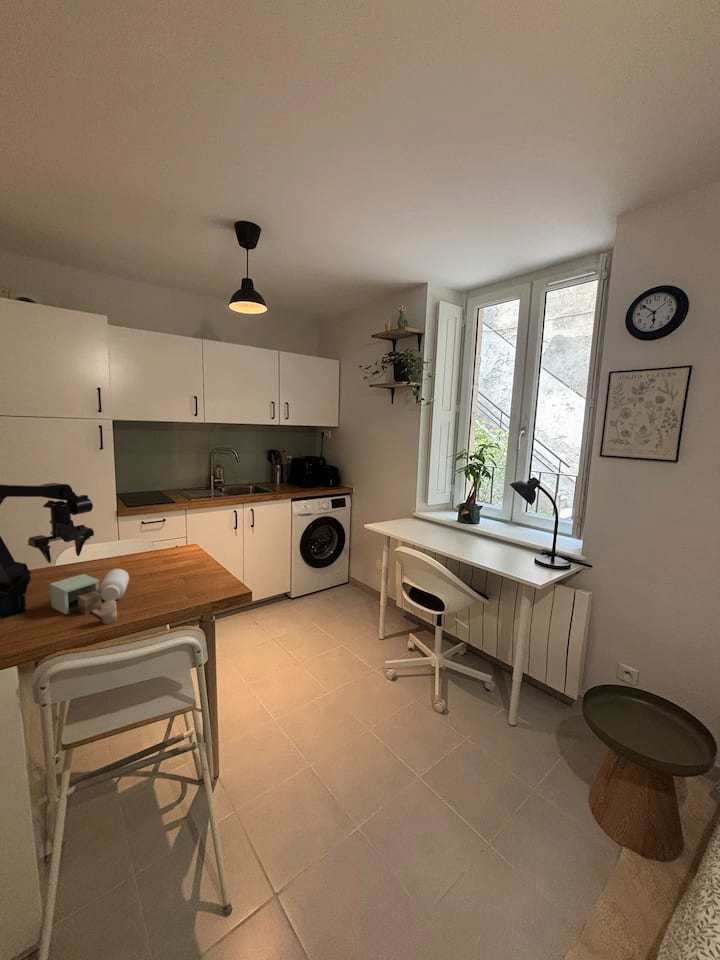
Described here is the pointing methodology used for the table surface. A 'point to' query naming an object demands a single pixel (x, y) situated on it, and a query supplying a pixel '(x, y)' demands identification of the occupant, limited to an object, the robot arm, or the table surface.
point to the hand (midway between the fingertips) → (64, 559)
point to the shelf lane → (71, 591)
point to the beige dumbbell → (98, 607)
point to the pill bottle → (114, 584)
